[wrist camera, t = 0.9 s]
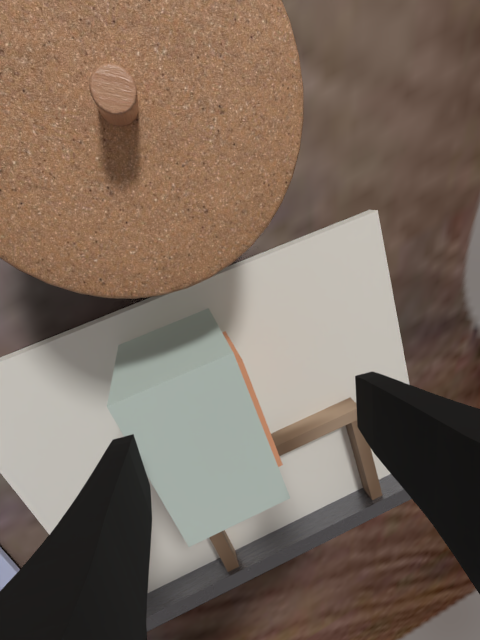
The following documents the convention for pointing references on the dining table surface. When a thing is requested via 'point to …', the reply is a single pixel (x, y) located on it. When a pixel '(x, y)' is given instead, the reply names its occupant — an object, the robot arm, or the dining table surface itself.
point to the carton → (196, 426)
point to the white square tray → (271, 391)
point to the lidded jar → (143, 138)
